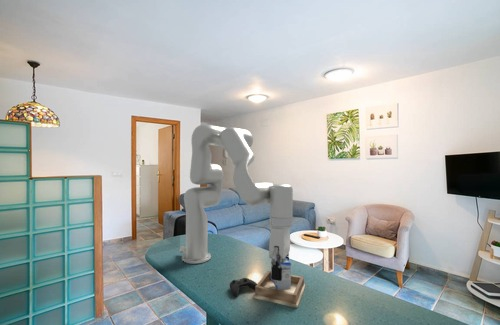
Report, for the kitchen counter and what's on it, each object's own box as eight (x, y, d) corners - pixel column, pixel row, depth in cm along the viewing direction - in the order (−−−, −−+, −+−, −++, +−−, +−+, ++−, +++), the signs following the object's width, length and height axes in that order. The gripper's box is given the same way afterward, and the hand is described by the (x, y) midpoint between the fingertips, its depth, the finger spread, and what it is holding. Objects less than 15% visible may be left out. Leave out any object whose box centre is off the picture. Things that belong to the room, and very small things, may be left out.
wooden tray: (253, 297, 76) (253, 287, 76) (267, 278, 89) (267, 269, 89) (297, 308, 71) (297, 296, 71) (305, 286, 84) (305, 276, 84)
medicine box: (270, 279, 84) (270, 253, 84) (282, 278, 85) (283, 253, 85) (277, 290, 76) (277, 263, 76) (291, 289, 77) (291, 262, 77)
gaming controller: (235, 297, 75) (228, 278, 79) (229, 303, 79) (223, 284, 82) (260, 289, 80) (253, 271, 84) (254, 295, 84) (248, 278, 87)
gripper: (277, 215, 90) (276, 262, 90) (261, 226, 74) (261, 283, 74) (297, 217, 87) (297, 265, 87) (285, 228, 71) (285, 287, 71)
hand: (280, 273), depth 80 cm, fingers closed on medicine box, 9 cm apart
